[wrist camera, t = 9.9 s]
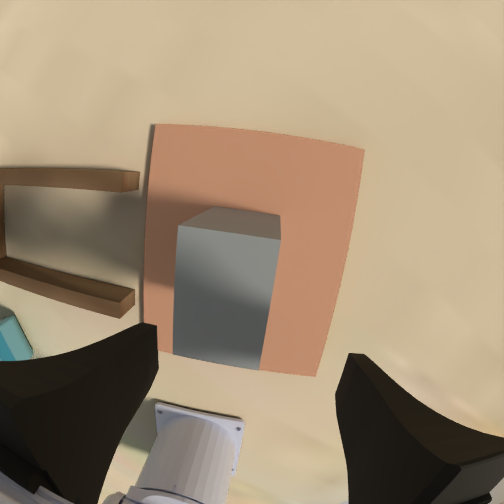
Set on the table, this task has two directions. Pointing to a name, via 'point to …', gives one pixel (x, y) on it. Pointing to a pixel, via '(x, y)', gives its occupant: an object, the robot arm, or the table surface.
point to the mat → (264, 201)
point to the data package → (13, 341)
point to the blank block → (224, 285)
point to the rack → (54, 282)
